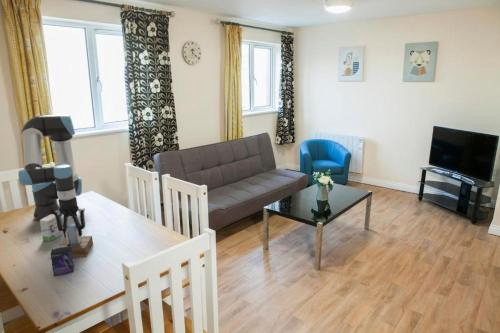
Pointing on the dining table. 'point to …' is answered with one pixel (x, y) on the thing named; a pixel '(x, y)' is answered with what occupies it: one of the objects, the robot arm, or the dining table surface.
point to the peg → (72, 234)
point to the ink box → (49, 228)
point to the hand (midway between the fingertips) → (74, 242)
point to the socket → (79, 247)
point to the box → (62, 260)
